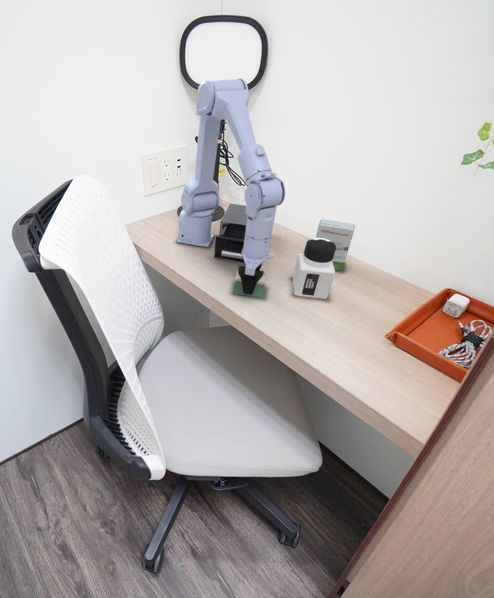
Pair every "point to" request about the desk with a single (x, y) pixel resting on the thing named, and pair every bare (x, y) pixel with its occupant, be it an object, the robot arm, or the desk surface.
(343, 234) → the ink box
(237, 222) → the small drawer cabinet
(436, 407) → the desk surface
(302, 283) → the container
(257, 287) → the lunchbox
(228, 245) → the drawer
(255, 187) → the robot arm
